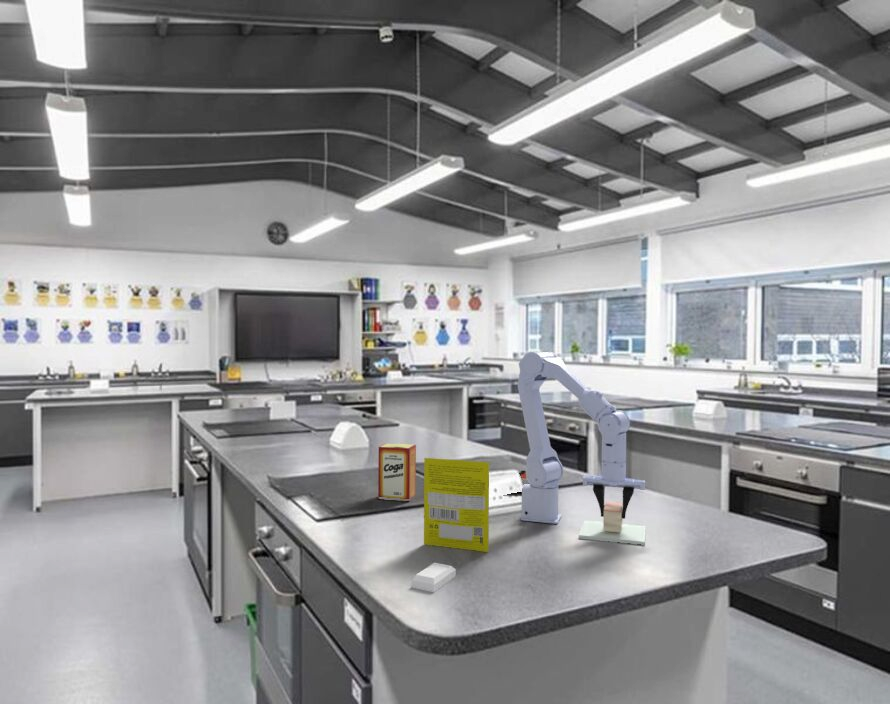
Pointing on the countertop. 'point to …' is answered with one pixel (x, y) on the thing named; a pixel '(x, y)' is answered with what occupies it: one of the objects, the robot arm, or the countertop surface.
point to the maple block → (613, 516)
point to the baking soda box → (397, 471)
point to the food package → (456, 504)
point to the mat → (613, 533)
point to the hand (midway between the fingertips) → (613, 516)
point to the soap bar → (433, 577)
